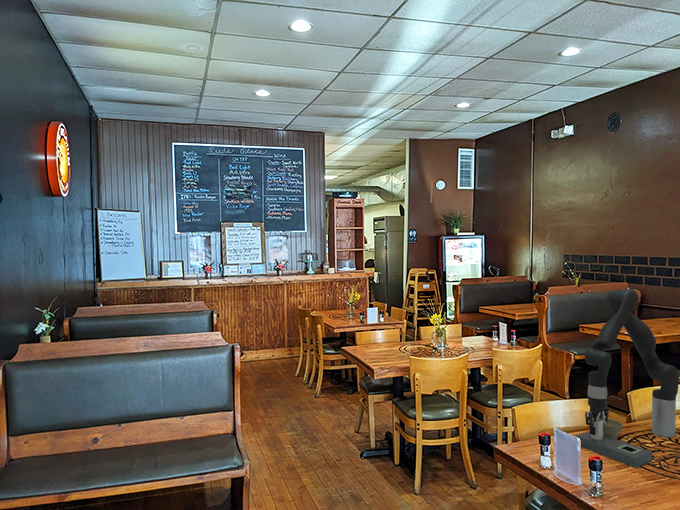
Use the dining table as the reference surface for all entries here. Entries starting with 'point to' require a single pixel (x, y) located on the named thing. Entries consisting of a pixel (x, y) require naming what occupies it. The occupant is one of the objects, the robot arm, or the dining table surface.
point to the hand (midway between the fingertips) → (596, 433)
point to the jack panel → (616, 450)
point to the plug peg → (598, 430)
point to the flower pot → (612, 428)
